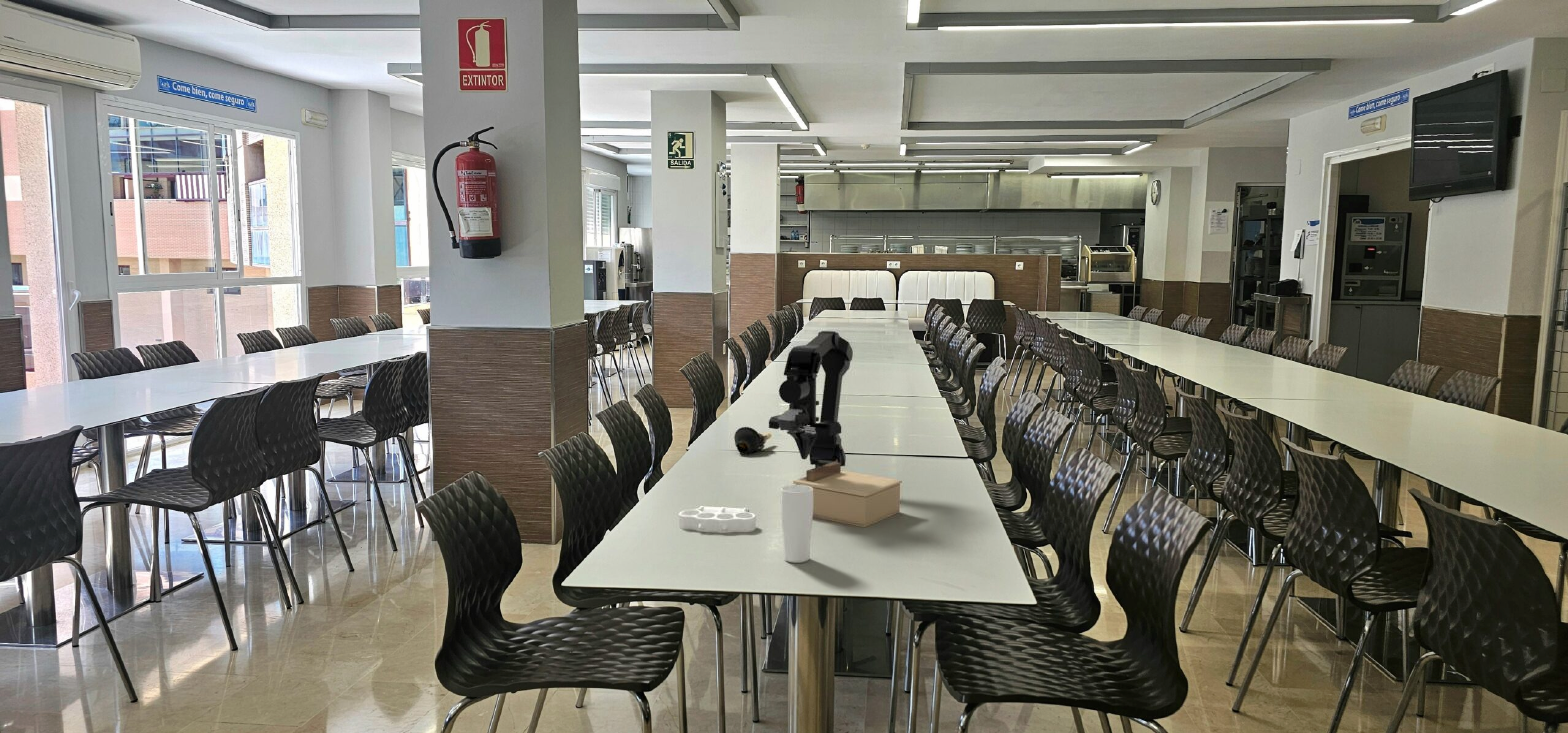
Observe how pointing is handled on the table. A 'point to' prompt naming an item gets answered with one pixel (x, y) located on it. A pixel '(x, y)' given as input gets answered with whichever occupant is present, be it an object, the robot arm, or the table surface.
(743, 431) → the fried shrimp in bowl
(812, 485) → the mailer lid
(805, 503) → the drinking glass
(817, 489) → the mailer box
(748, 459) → the table surface
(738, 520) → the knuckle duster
